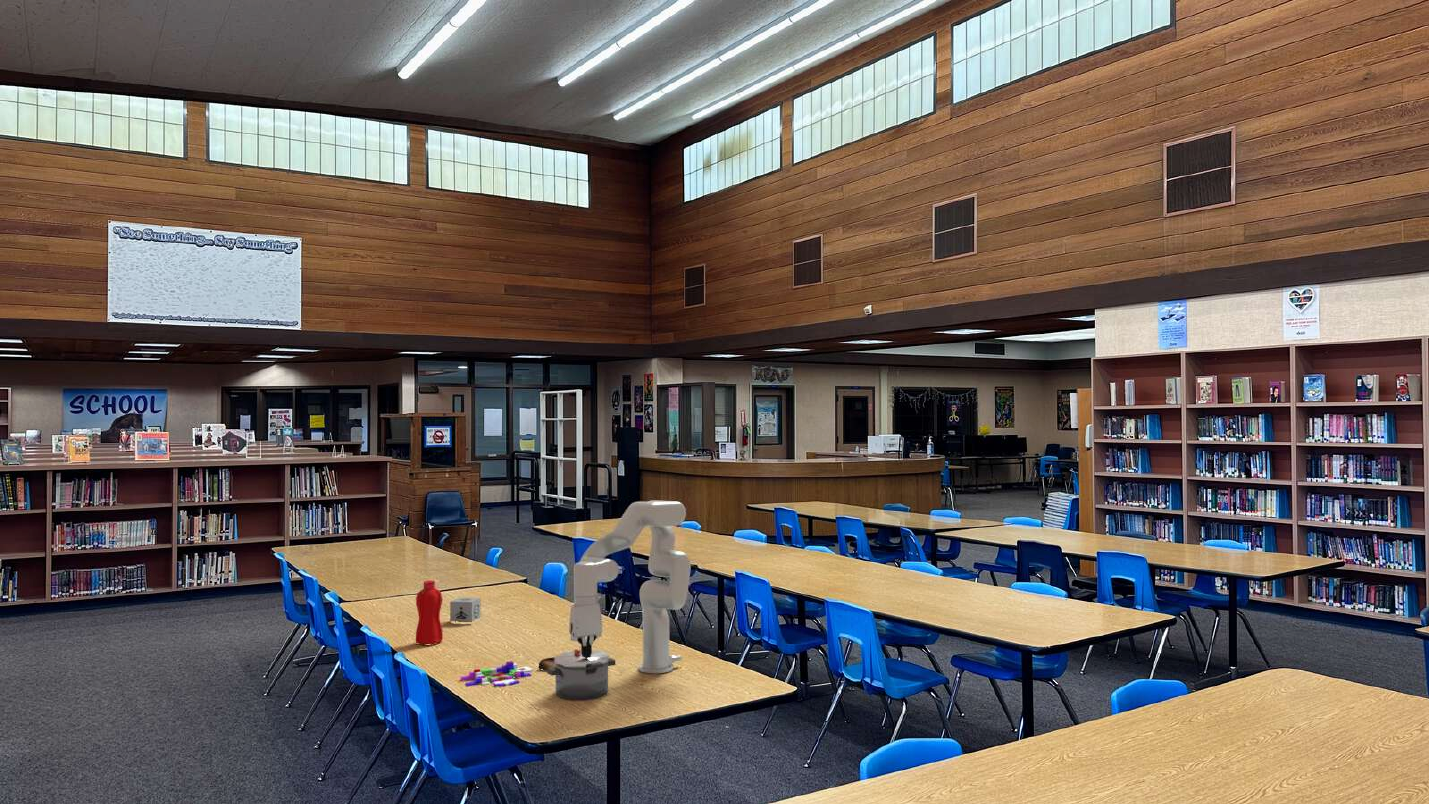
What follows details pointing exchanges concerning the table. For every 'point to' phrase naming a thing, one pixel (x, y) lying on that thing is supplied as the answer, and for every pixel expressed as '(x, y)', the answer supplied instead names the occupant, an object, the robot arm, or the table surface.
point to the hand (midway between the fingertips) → (586, 656)
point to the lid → (581, 659)
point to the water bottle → (429, 614)
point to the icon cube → (465, 609)
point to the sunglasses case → (547, 663)
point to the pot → (581, 682)
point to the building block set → (488, 674)
